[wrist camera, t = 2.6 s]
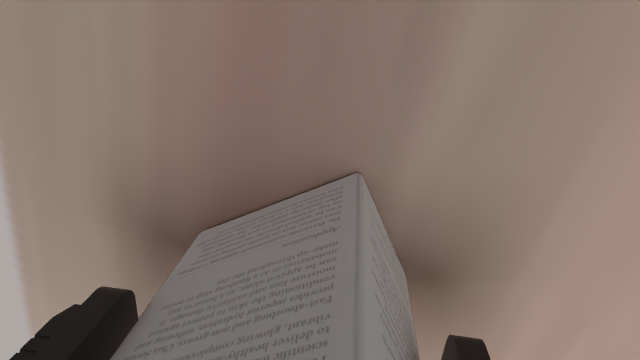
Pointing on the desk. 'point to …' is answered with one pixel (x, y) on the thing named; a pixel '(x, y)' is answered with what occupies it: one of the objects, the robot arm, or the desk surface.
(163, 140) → the desk surface
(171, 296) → the skincare box
